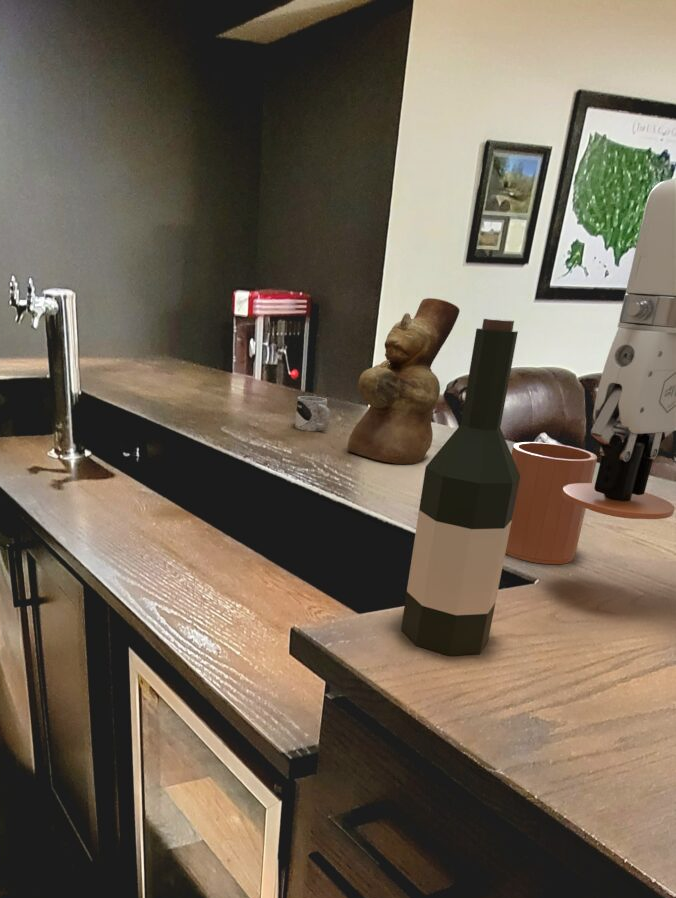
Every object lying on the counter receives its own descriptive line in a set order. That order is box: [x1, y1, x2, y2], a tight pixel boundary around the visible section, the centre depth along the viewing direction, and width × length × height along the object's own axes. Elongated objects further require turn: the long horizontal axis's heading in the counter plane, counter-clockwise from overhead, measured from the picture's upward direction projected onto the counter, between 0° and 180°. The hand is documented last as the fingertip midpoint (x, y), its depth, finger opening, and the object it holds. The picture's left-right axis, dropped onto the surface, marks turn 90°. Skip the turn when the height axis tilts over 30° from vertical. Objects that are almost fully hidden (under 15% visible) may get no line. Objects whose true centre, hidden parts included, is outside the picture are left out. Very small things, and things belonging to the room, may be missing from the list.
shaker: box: [505, 441, 598, 565], centre depth 93 cm, size 10×10×14 cm
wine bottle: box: [400, 318, 520, 657], centre depth 66 cm, size 8×8×30 cm
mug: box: [294, 395, 331, 432], centre depth 162 cm, size 10×7×7 cm
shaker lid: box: [562, 439, 676, 520], centre depth 77 cm, size 11×11×7 cm
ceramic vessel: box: [347, 297, 461, 465], centre depth 140 cm, size 16×22×30 cm
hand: (618, 491), depth 77 cm, fingers closed on shaker lid, 2 cm apart
